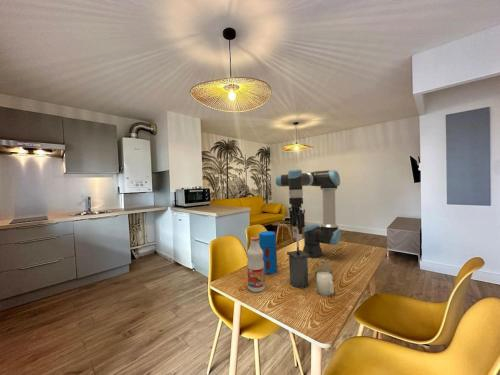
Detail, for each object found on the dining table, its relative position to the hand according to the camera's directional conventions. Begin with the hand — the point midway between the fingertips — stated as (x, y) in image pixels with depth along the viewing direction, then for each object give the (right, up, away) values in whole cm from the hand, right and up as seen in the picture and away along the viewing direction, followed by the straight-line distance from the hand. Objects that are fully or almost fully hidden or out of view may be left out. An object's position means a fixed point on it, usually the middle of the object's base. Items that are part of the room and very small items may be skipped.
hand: (297, 238), depth 117 cm
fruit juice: (-23, -27, -2) cm, 36 cm away
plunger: (+1, -11, 0) cm, 11 cm away
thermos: (-14, -26, +18) cm, 35 cm away
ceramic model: (+17, -25, +6) cm, 31 cm away
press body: (+1, -26, +2) cm, 26 cm away
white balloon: (+12, -25, -11) cm, 30 cm away
